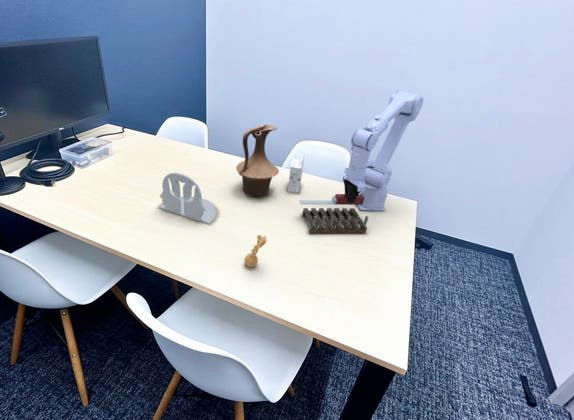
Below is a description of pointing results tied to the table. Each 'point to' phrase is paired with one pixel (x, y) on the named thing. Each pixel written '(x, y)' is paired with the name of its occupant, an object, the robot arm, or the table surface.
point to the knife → (337, 200)
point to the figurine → (255, 252)
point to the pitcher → (257, 164)
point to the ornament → (186, 199)
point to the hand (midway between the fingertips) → (349, 199)
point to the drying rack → (335, 221)
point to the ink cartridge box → (295, 175)
